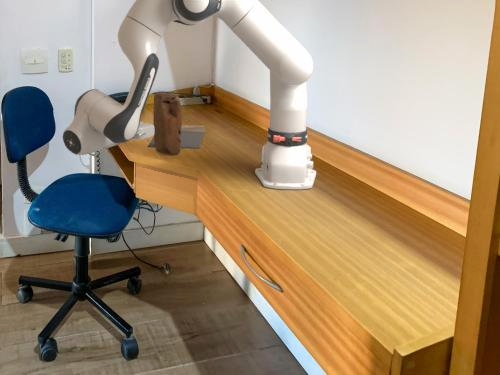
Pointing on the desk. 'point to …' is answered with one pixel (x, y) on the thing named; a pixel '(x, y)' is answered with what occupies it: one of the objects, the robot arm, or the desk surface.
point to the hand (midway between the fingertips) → (138, 123)
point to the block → (167, 123)
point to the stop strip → (193, 128)
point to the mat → (187, 139)
